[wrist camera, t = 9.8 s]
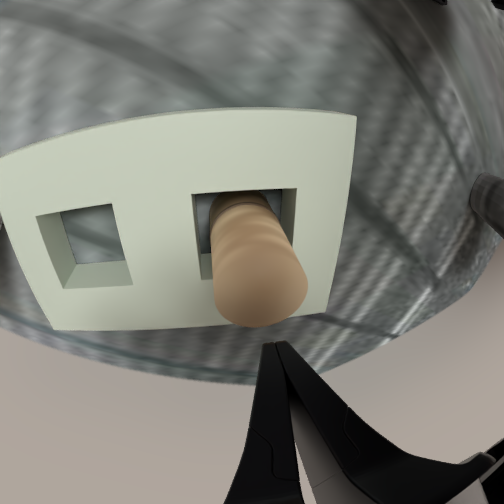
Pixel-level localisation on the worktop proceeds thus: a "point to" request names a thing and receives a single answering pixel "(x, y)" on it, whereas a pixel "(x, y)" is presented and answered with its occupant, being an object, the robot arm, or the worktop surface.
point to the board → (172, 208)
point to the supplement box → (1, 221)
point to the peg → (253, 261)
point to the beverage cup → (489, 201)
